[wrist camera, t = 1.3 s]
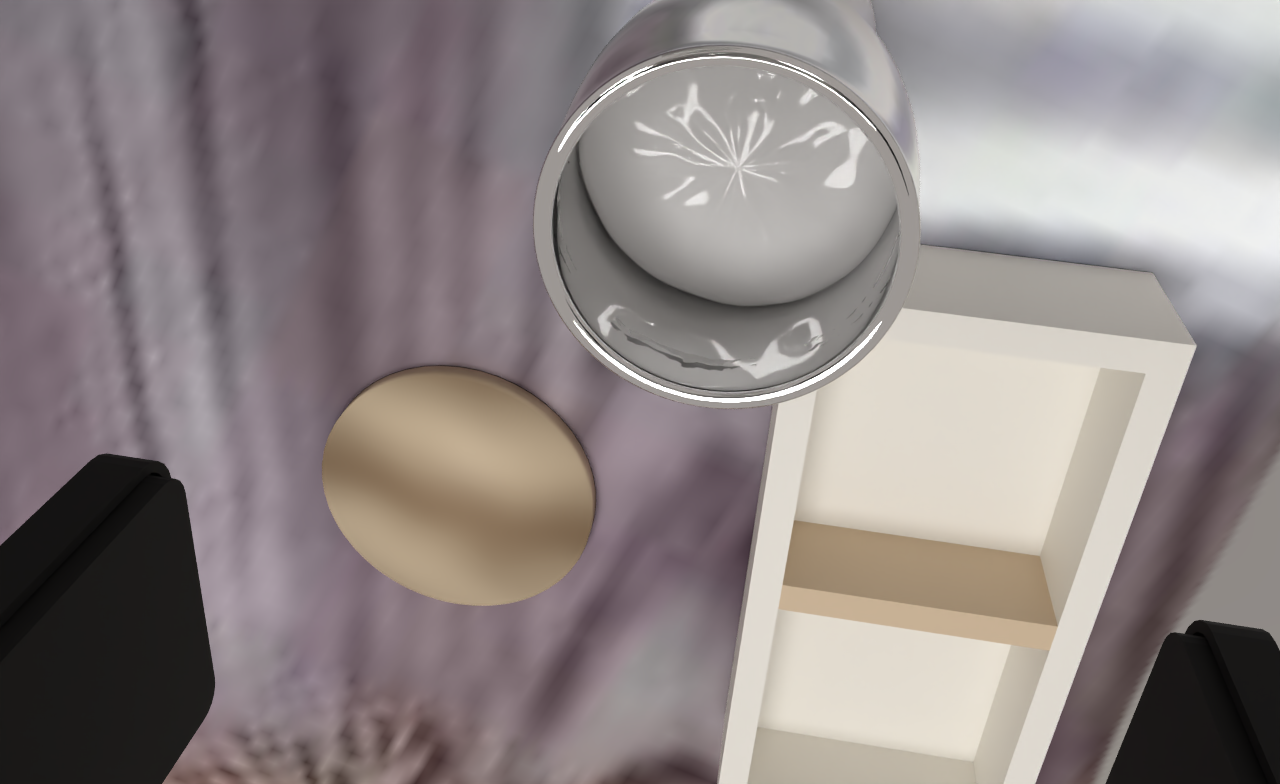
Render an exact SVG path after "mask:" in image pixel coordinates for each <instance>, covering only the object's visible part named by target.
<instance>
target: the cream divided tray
mask: <svg viewBox="0 0 1280 784" xmlns="http://www.w3.org/2000/svg"><path fill="white" fill-rule="evenodd" d="M1195 349H1196V344H1195V342H1194V341H1193V339H1192V337H1191V336H1190V334H1189V332H1188V331H1187V329H1186V327H1185V326H1184V324H1183V322H1182V321H1181V319H1180V317H1179V316H1178V314H1177V312H1176V311H1175V309H1174V307H1173V306H1172V304H1171V302H1170V301H1169V299H1168V297H1167V296H1166V294H1165V292H1164V291H1163V289H1162V287H1161V286H1160V284H1159V283H1158V281H1157V279H1156V278H1155V276H1154V274H1153V273H1150V272H1141V271H1133V270H1125V269H1117V268H1109V267H1101V266H1093V265H1084V264H1076V263H1068V262H1060V261H1052V260H1044V259H1036V258H1027V257H1019V256H1011V255H1003V254H995V253H987V252H979V251H970V250H962V249H954V248H946V247H938V246H930V245H921V244H920V253H919V259H918V264H917V269H916V273H915V277H914V280H913V283H912V286H911V289H910V292H909V294H908V297H907V299H906V301H905V303H904V305H903V307H902V309H901V311H900V313H899V315H898V317H897V318H896V320H895V322H894V323H893V325H892V326H891V328H890V329H889V331H888V332H887V333H886V335H885V336H884V337H883V339H882V340H881V341H880V342H879V343H878V345H877V346H876V347H875V348H874V349H873V350H872V351H871V352H870V353H869V354H868V355H867V356H866V357H865V358H864V359H863V360H862V361H861V362H859V363H858V364H857V365H856V366H855V367H853V368H852V369H851V370H849V371H848V372H847V373H845V374H844V375H842V376H841V377H839V378H838V379H836V380H835V381H833V382H831V383H829V384H828V385H826V386H824V387H822V388H820V389H818V390H816V391H814V392H811V393H809V394H807V395H804V396H801V397H799V398H796V399H793V400H789V401H786V402H782V403H778V404H774V405H773V407H772V414H771V420H770V427H769V433H768V440H767V446H766V453H765V459H764V466H763V472H762V478H761V485H760V491H759V498H758V504H757V511H756V517H755V524H754V530H753V537H752V543H751V550H750V556H749V563H748V569H747V575H746V582H745V588H744V595H743V601H742V608H741V614H740V621H739V627H738V634H737V640H736V647H735V653H734V659H733V666H732V672H731V679H730V685H729V692H728V698H727V705H726V711H725V718H724V727H723V736H722V745H721V754H720V763H719V773H718V782H717V784H1035V783H1036V780H1037V777H1038V774H1039V772H1040V769H1041V766H1042V764H1043V761H1044V758H1045V755H1046V753H1047V750H1048V747H1049V745H1050V742H1051V739H1052V736H1053V734H1054V731H1055V728H1056V726H1057V723H1058V720H1059V717H1060V715H1061V712H1062V709H1063V707H1064V704H1065V701H1066V698H1067V696H1068V693H1069V690H1070V688H1071V685H1072V682H1073V679H1074V677H1075V674H1076V671H1077V669H1078V666H1079V663H1080V661H1081V658H1082V655H1083V652H1084V650H1085V647H1086V644H1087V642H1088V639H1089V636H1090V633H1091V631H1092V628H1093V625H1094V623H1095V620H1096V617H1097V614H1098V612H1099V609H1100V606H1101V604H1102V601H1103V598H1104V595H1105V593H1106V590H1107V587H1108V585H1109V582H1110V579H1111V576H1112V574H1113V571H1114V568H1115V566H1116V563H1117V560H1118V557H1119V555H1120V552H1121V549H1122V547H1123V544H1124V541H1125V538H1126V536H1127V533H1128V530H1129V528H1130V525H1131V522H1132V519H1133V517H1134V514H1135V511H1136V509H1137V506H1138V503H1139V501H1140V498H1141V495H1142V492H1143V490H1144V487H1145V484H1146V482H1147V479H1148V476H1149V473H1150V471H1151V468H1152V465H1153V463H1154V460H1155V457H1156V454H1157V452H1158V449H1159V446H1160V444H1161V441H1162V438H1163V435H1164V433H1165V430H1166V427H1167V425H1168V422H1169V419H1170V416H1171V414H1172V411H1173V408H1174V406H1175V403H1176V400H1177V397H1178V395H1179V392H1180V389H1181V387H1182V384H1183V381H1184V378H1185V376H1186V373H1187V370H1188V368H1189V365H1190V362H1191V359H1192V357H1193V354H1194V351H1195Z"/></svg>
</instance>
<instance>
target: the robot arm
mask: <svg viewBox="0 0 1280 784" xmlns="http://www.w3.org/2000/svg"><path fill="white" fill-rule="evenodd" d="M214 690H215V676H214V670H213V664H212V657H211V651H210V645H209V638H208V632H207V626H206V619H205V613H204V607H203V600H202V594H201V588H200V581H199V575H198V569H197V562H196V556H195V550H194V543H193V537H192V531H191V524H190V518H189V512H188V505H187V499H186V493H185V489H184V486H183V484H182V483H181V482H180V481H179V480H177V479H172V478H171V476H170V473H169V470H168V469H167V467H166V466H165V465H164V464H163V463H161V462H158V461H153V460H146V459H140V458H133V457H126V456H120V455H113V454H101V455H98V456H96V457H95V458H93V459H92V460H91V461H90V462H88V463H87V464H86V465H85V466H84V467H83V468H82V469H81V470H80V471H79V472H78V473H77V474H76V475H75V476H74V477H73V478H72V479H70V480H69V481H68V482H67V483H66V484H65V485H64V486H63V487H62V488H61V489H60V490H59V491H58V492H57V493H56V494H55V495H53V496H52V497H51V498H50V499H49V500H48V501H47V502H46V503H45V504H44V505H43V506H42V507H41V508H40V509H39V510H38V511H37V512H35V513H34V514H33V515H32V516H31V517H30V518H29V519H28V520H27V521H26V522H25V523H24V524H23V525H22V526H21V527H20V528H19V529H17V530H16V531H15V532H14V533H13V534H12V535H11V536H10V537H9V538H8V539H7V540H6V541H5V542H4V543H3V544H2V545H1V546H0V784H162V783H163V781H164V780H165V778H166V777H167V775H168V774H169V772H170V771H171V769H172V768H173V766H174V765H175V763H176V762H177V760H178V759H179V757H180V755H181V754H182V752H183V751H184V749H185V748H186V746H187V745H188V743H189V742H190V740H191V739H192V737H193V736H194V734H195V733H196V731H197V730H198V728H199V727H200V725H201V723H202V722H203V720H204V719H205V717H206V715H207V713H208V711H209V709H210V706H211V704H212V700H213V696H214ZM1106 784H1280V650H1279V648H1278V646H1277V644H1276V642H1275V641H1274V639H1273V638H1272V636H1271V635H1270V633H1268V632H1266V631H1264V630H1263V629H1257V628H1250V627H1244V626H1237V625H1231V624H1224V623H1217V622H1210V621H1204V620H1198V621H1194V622H1193V623H1192V624H1191V625H1190V626H1189V627H1188V629H1187V631H1186V632H1185V634H1182V633H1176V632H1174V633H1170V634H1169V635H1168V636H1167V637H1166V639H1165V641H1164V642H1163V644H1162V647H1161V649H1160V652H1159V654H1158V657H1157V659H1156V661H1155V664H1154V666H1153V669H1152V671H1151V674H1150V676H1149V679H1148V681H1147V684H1146V686H1145V688H1144V691H1143V693H1142V696H1141V698H1140V701H1139V703H1138V706H1137V708H1136V711H1135V713H1134V715H1133V718H1132V720H1131V723H1130V725H1129V728H1128V730H1127V733H1126V735H1125V737H1124V740H1123V742H1122V745H1121V747H1120V750H1119V752H1118V755H1117V757H1116V760H1115V762H1114V764H1113V767H1112V769H1111V772H1110V774H1109V777H1108V779H1107V782H1106Z"/></svg>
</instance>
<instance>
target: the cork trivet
mask: <svg viewBox="0 0 1280 784" xmlns="http://www.w3.org/2000/svg"><path fill="white" fill-rule="evenodd" d="M322 480H323V486H324V492H325V496H326V499H327V502H328V505H329V508H330V510H331V513H332V515H333V517H334V519H335V521H336V523H337V525H338V526H339V528H340V529H341V531H342V533H343V534H344V536H345V537H346V538H347V540H348V541H349V542H350V543H351V545H352V546H353V547H354V548H355V549H356V550H357V551H358V552H359V553H360V554H361V555H362V556H363V557H364V559H365V560H367V561H368V562H369V563H370V564H371V565H373V566H374V567H375V568H376V569H377V570H379V571H380V572H381V573H383V574H384V575H386V576H387V577H389V578H390V579H392V580H393V581H395V582H397V583H399V584H401V585H403V586H405V587H406V588H408V589H411V590H413V591H415V592H418V593H420V594H422V595H425V596H428V597H431V598H435V599H438V600H441V601H446V602H451V603H456V604H464V605H473V606H491V605H500V604H508V603H512V602H516V601H521V600H524V599H527V598H529V597H532V596H535V595H537V594H539V593H541V592H543V591H545V590H547V589H548V588H550V587H551V586H553V585H554V584H556V583H557V582H558V581H560V580H561V579H562V578H563V577H564V576H565V575H566V574H567V573H568V572H569V571H570V570H571V569H572V568H573V566H574V565H575V564H576V562H577V561H578V560H579V558H580V556H581V554H582V552H583V550H584V548H585V546H586V543H587V540H588V537H589V534H590V530H591V527H592V524H593V521H594V515H595V508H596V490H595V484H594V478H593V474H592V471H591V468H590V465H589V461H588V459H587V457H586V455H585V453H584V451H583V449H582V447H581V445H580V443H579V442H578V440H577V439H576V437H575V436H574V434H573V433H572V431H571V430H570V429H569V428H568V426H567V425H566V424H565V423H564V422H563V421H562V419H561V418H560V417H559V416H558V415H557V414H556V413H554V412H553V411H552V410H551V409H550V408H549V407H548V406H547V405H546V404H544V403H543V402H542V401H540V400H539V399H538V398H536V397H535V396H534V395H532V394H531V393H529V392H527V391H525V390H524V389H522V388H520V387H519V386H517V385H515V384H513V383H511V382H508V381H506V380H504V379H502V378H499V377H497V376H494V375H491V374H487V373H484V372H481V371H477V370H472V369H467V368H462V367H452V366H424V367H418V368H412V369H407V370H403V371H400V372H397V373H394V374H391V375H389V376H386V377H384V378H382V379H380V380H378V381H376V382H375V383H373V384H372V385H370V386H369V387H367V388H366V389H364V390H363V391H362V392H361V393H360V394H359V395H358V396H357V397H355V398H354V399H353V400H352V402H351V403H350V404H349V406H348V407H347V408H346V409H345V411H344V412H343V413H342V415H341V416H340V418H339V419H338V420H337V422H336V423H335V425H334V427H333V429H332V431H331V433H330V434H329V437H328V440H327V443H326V446H325V449H324V455H323V461H322Z"/></svg>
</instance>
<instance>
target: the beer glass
mask: <svg viewBox="0 0 1280 784" xmlns="http://www.w3.org/2000/svg"><path fill="white" fill-rule="evenodd" d="M919 207H920V155H919V147H918V138H917V130H916V123H915V118H914V113H913V110H912V106H911V103H910V100H909V97H908V94H907V91H906V88H905V85H904V82H903V79H902V77H901V74H900V72H899V69H898V67H897V65H896V63H895V61H894V59H893V57H892V55H891V54H890V52H889V50H888V49H887V47H886V45H885V44H884V42H883V41H882V40H881V38H880V37H879V36H878V34H877V33H876V21H875V15H874V10H873V6H872V3H871V0H653V1H652V2H650V3H649V4H648V5H646V6H645V7H644V8H642V9H641V10H640V11H639V12H638V13H637V14H635V15H634V16H633V17H632V18H631V19H630V20H629V21H628V22H627V23H626V24H625V25H624V26H623V27H622V29H621V30H620V31H619V32H618V33H617V34H616V35H615V36H614V37H613V38H612V39H611V40H610V41H609V43H608V44H607V45H606V46H605V47H604V49H603V50H602V51H601V53H600V54H599V55H598V57H597V58H596V60H595V61H594V63H593V64H592V66H591V68H590V69H589V71H588V73H587V75H586V76H585V78H584V80H583V81H582V83H581V85H580V86H579V88H578V90H577V92H576V94H575V96H574V98H573V100H572V102H571V104H570V107H569V109H568V111H567V113H566V116H565V118H564V120H563V123H562V125H561V128H560V130H559V133H558V135H557V136H556V138H555V140H554V141H553V143H552V145H551V147H550V149H549V151H548V154H547V156H546V158H545V161H544V163H543V166H542V169H541V172H540V176H539V179H538V183H537V188H536V193H535V199H534V208H533V238H534V247H535V253H536V258H537V263H538V267H539V271H540V274H541V277H542V280H543V283H544V286H545V288H546V291H547V293H548V295H549V297H550V299H551V301H552V303H553V305H554V307H555V309H556V311H557V312H558V314H559V316H560V317H561V319H562V321H563V322H564V323H565V325H566V326H567V328H568V329H569V330H570V332H571V333H572V334H573V335H574V337H575V338H576V339H577V340H578V341H579V343H580V344H581V345H582V346H583V347H584V348H585V349H586V350H587V351H588V352H589V353H590V354H591V355H592V356H593V357H595V358H596V359H597V360H598V361H599V362H600V363H602V364H603V365H604V366H605V367H607V368H608V369H609V370H611V371H612V372H614V373H615V374H616V375H618V376H620V377H621V378H623V379H624V380H626V381H628V382H629V383H631V384H633V385H635V386H637V387H639V388H641V389H643V390H645V391H648V392H650V393H652V394H655V395H657V396H660V397H663V398H666V399H669V400H672V401H676V402H679V403H683V404H688V405H693V406H698V407H706V408H716V409H746V408H756V407H763V406H769V405H774V404H778V403H782V402H786V401H789V400H793V399H796V398H799V397H801V396H804V395H807V394H809V393H811V392H814V391H816V390H818V389H820V388H822V387H824V386H826V385H828V384H829V383H831V382H833V381H835V380H836V379H838V378H839V377H841V376H842V375H844V374H845V373H847V372H848V371H849V370H851V369H852V368H853V367H855V366H856V365H857V364H858V363H859V362H861V361H862V360H863V359H864V358H865V357H866V356H867V355H868V354H869V353H870V352H871V351H872V350H873V349H874V348H875V347H876V346H877V345H878V343H879V342H880V341H881V340H882V339H883V337H884V336H885V335H886V333H887V332H888V331H889V329H890V328H891V326H892V325H893V323H894V322H895V320H896V318H897V317H898V315H899V313H900V311H901V309H902V307H903V305H904V303H905V301H906V299H907V297H908V294H909V292H910V289H911V286H912V283H913V280H914V277H915V273H916V269H917V264H918V259H919V253H920V242H921V219H920V209H919Z"/></svg>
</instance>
